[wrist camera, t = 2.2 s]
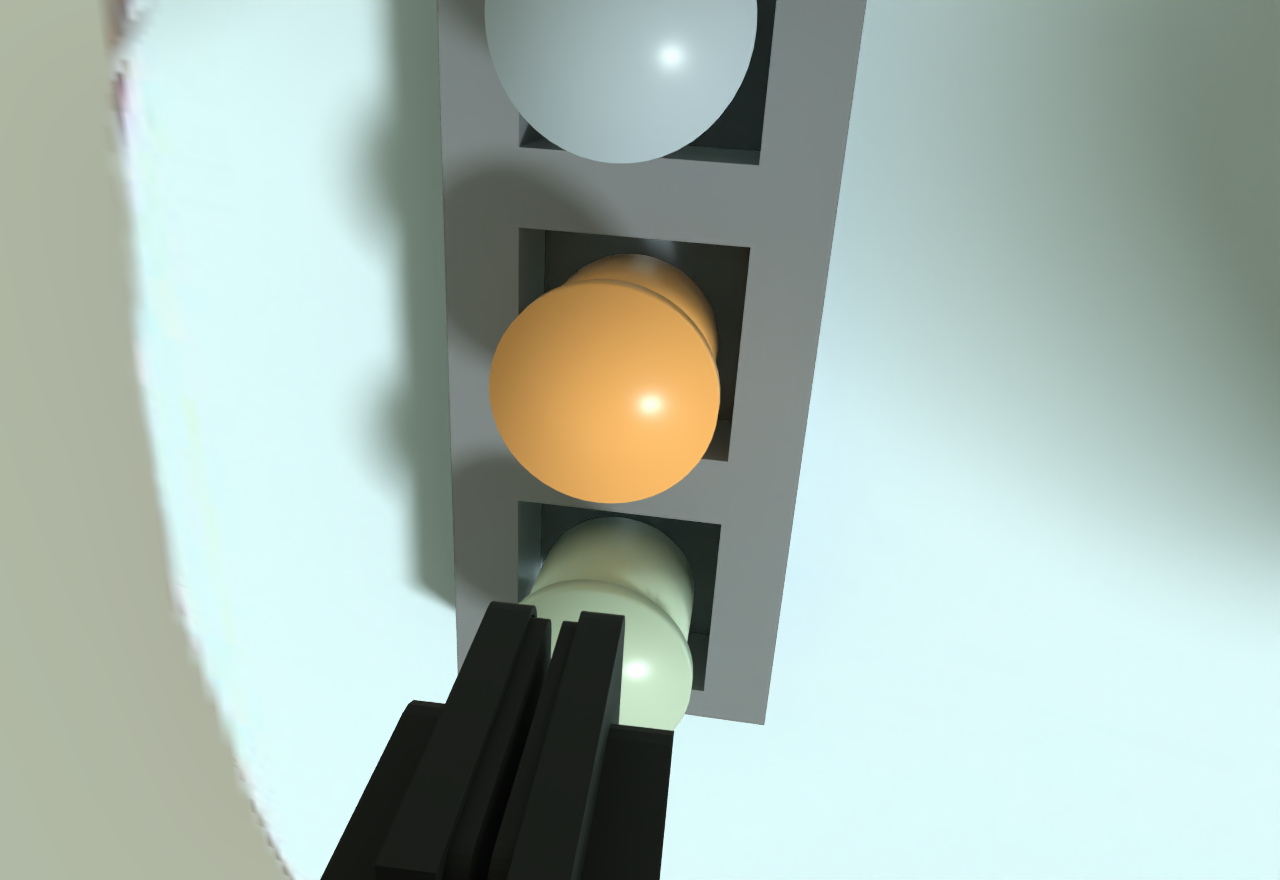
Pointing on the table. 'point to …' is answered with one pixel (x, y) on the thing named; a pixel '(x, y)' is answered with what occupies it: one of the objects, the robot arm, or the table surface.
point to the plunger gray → (621, 69)
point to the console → (665, 210)
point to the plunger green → (627, 608)
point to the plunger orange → (610, 381)
